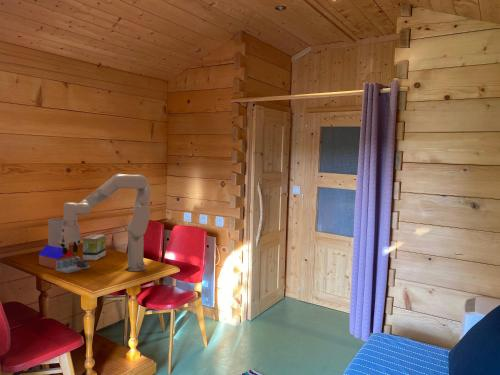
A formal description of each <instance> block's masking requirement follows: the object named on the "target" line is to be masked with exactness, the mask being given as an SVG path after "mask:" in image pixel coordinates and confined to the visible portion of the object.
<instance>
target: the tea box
mask: <svg viewBox="0 0 500 375" xmlns="http://www.w3.org/2000/svg"><path fill="white" fill-rule="evenodd" d="M106 240H107V235H106V234H90V235H88V236H85V237H82V259H85V260H87V261H97V260H99V259H101V258H102V257H105V256H106V253H107V252H106V249H107V248H106V246H107V243H106Z"/></svg>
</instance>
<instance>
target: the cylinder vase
mask: <svg viewBox="0 0 500 375" xmlns="http://www.w3.org/2000/svg"><path fill="white" fill-rule="evenodd" d="M63 221H64V217H57V218H56V217H55V218H49V219H48V221H47V225H48V230H47V232H48V234H47V240H48V242H47V245H49V246H54V247H59V248H63V247H61V245H60V244H59V243H58V241H59V240H60V239H61V231H62V226H63V224H62V222H63ZM62 243H63V242H62ZM69 244H70V243H68V244H67V246H66V248H67V249H68V250H69V249H70V248H69V246H70V245H69ZM69 251H70V250H69Z"/></svg>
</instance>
